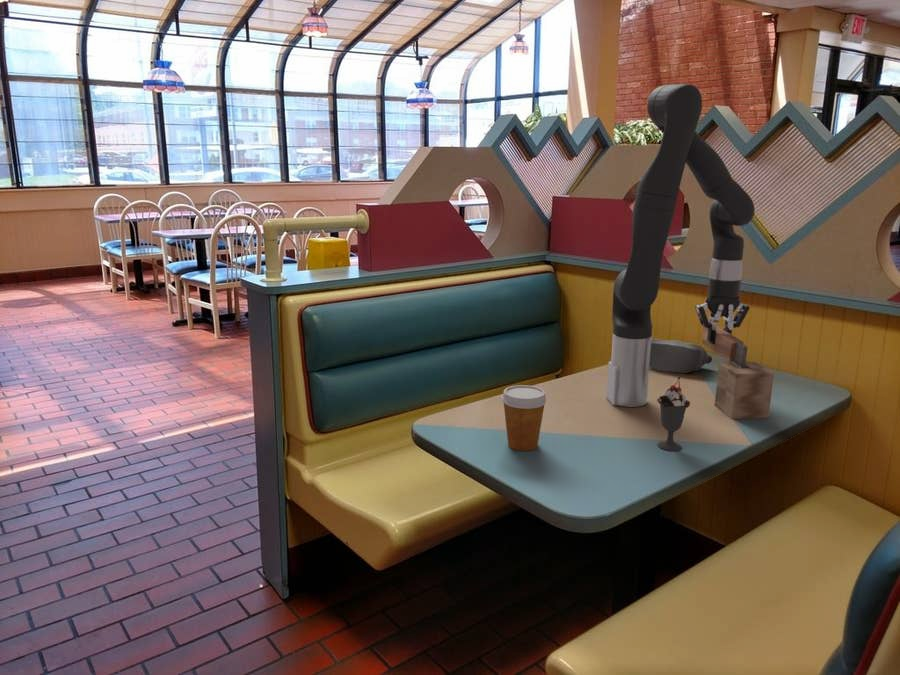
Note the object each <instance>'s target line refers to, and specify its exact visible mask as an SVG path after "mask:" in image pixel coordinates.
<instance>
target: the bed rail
mask: <svg viewBox="0 0 900 675" xmlns="http://www.w3.org/2000/svg"><path fill="white" fill-rule="evenodd" d="M715 330H716V337H715V344H711V343H709V341H708V340H707V335H708V328H706V327H704V326H703V331H702V340H701V343H702V344H703V345H704V346H705V347H707V348H708V349H709V350H711V351H713V352H714V353H715V354H717V355H719V356H720V357H722V358H723V359H724V360H726V361H727V362H732V363H734V364H736V365H737V366H739V367H740V368H741V367H745V363H746V362H747V354H748V346H746V345H745V344H744V343H745V342H744V341H742V340H741V339H740V338H738V337H736V336H734V335H733V334H729V333H728V332H726V331H724V330H723V328H721V327H720V326H719V325H717V327H716V329H715Z"/></svg>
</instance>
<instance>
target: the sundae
mask: <svg viewBox="0 0 900 675" xmlns="http://www.w3.org/2000/svg"><path fill="white" fill-rule="evenodd" d="M680 379H681V377H680V376H678V377H677V381H676V383H675V384H673V385H670V387H669V388H668V389H666V390H665V391H664V393H663V395H660V396H659V398H657V400H656V401H657V402H658V404H659V405H660V406H659V407H660V408H659V410H660V421H661V426H662V427H663V428H664V430H666V431H667V438H666V440H664V441H663V440H662V441H660V442H658V443H657V447H658V448H659V447H660V449H661V448H662V449H661V450H663V449H664V450H665V451H667V450H669V451H668V452H677V450H678V451H680V450H682V445H681V444H680V443H678V442H676V441H675V440H674V433H675V432H676V431H678V430H680V429H681V427H682V425H683V422H684V418H685V413H686V409H688V408H689V407H690V406H691V402H690V401H689V400H687V399H686V397H685V394H683V393H682V388H681V386H680V382H679V380H680ZM677 384H678V386H677V387H676V385H677Z"/></svg>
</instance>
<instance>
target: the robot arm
mask: <svg viewBox="0 0 900 675" xmlns="http://www.w3.org/2000/svg"><path fill="white" fill-rule="evenodd" d="M702 97H703V96H702V93H701V91H700V90H699V88H698V87H697V86H695V85H693V84H691V83H681V84H679V83H678V84H675V83H674V84H665V85H660V86H657V87H656V88H655V89H654V90H652V91H651V94H650V95H649V97H648V99H647V103H646V109H647V113H648V116H649V119H650V120H651V121H652V123H653V124H654V126H656V127H657V129H658V130H659V131H660V132H661V133H662V138H661V142H660V146H659V148H658V151H657V153H656V155H655V156H654V157H653V159H652V162H651V163H650V164H649V166H648V167H647V169H646V170H645V172H644V174H643V175H642V176H641V178H640V180H639V183H638V185H637V189H636V193H635V199H634V205H633V209H632V210H633V211H632V218H631V219H632V220H631V221H632V223H631V237H632V238H631V250H630V256H629V258H628V264H627V267H626V269H623V270H622V271H621V272H619V274H618V275H617V276H616V278H615V280H614V284H613V291H612V292H613V293H612V294H613V295H612V315H611V316H612V317H611V318H612V342H611V343H612V346H611V359H610V361H608V365H607V377H606V378H607V380H606V381H607V382H606V395H605V396H606V399H607V400H608V401H609V402H610V404H611V405H612V406H618V407H627V408H635V407H642V406H644V405H646V404H647V400H648V390H649V389H648V388H649V387H648V386H649V377H650V376H649V374H650V366H649V364H650V351H651V338H653V337H652V334H653V324H652V317H651V306H652V305H653V304H654V302H655V301H656V300H657V297H658V294H659V288H660V287H659V285H660V278H661V269H662V261H663V256H664V251H665V248H666V244H667V241H668V237H669V234H670V231H671V227H672V222H673V218H674V214H675V212H676V208H677V202H678V197H679V192H680V188H681V182H682V179H683V176H684V171H685V167H686V165H687V167H688V168H689V169H690V172H691V173H692V175H693V177H694V178H695V179H696V181H697V183H698V185H699V187H700V188H701V190H702V192H703V193H704V194H705V196H706V197H708V198H709V199H712V200H713V201H712V203H711V205H710V207H709V208H710V209H709V222H710V223H709V224H710V229H711V233H712V238H713V249H712V256H711V257H712V258H711V262H710V268H709V273H708V276H709V277H708V288H707V298H706V300H705V302H704V303H701V304H696V305H695V306H694V307H695V311H696V314H697V317H698V320H699V322H700V324H701V326H703V328H704V327H706V328H708V335H707V340H708V341H709V343H711V344H715V337H716V330H715V329H716V327H717V326H718V323H720V322H719V321H720V320H721V317H722V318H723V323H724V324H723V325H724V328H722V329H723V330H724V331H726V332H728V333H729V334H731V335H733V333H732V332H733V330H734V329H735V328H740V327H741V325H742V323H743V321H744V320H745V318H746V316H747V314H748V312H749V311H750V308H751V307H750V306H749V305H747V304H744V303H741V301H740V295H741V285H742V277H743V256H744V247H745V246H744V245H745V240H744V238H743V237H742V236H741V235H739V234H737V233H736V232H735V230H734V229H735V228H734V226H736V227H737V226H738V227H741V226H746V225H748V224H750V222H751V221H752V220H753V219H754V217H755V211H756V210H755V205H754V202H753V201H754V200H753V199H752V198H751V196H750V195H749V193H748V192H746V190H745V189H744V188H742V186H741V185H740V184H739V183H738V182H737V181H736V180H734V179H733V177H732V175H731V174H730V171H729V170H728V168H727V166H726V165H725V164H726V163H724V161H723V159H722V158H721V156H720V155H719V154H718V153H717V152H716V150H715V149H714V148H713V147H712V146H710V144H709V143H707V142H706V140H704V139H703V138H702V137H701V136H700V134H699V133H697V131H696V129H697V127H698V123H699V120H700V117H701V114H702V109H703V108H702V107H703V98H702ZM707 309H708V310H709V316H708V317H707V313H706V312H708V311H707ZM736 311H737V312H736ZM734 312H736V313H735V315H734Z"/></svg>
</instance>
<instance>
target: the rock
mask: <svg viewBox="0 0 900 675" xmlns="http://www.w3.org/2000/svg"><path fill="white" fill-rule="evenodd" d="M712 360H713V357H712V356H711V355H710V354H707V351H706V350H705V348H703V346H701V345H699V344H695V343H691V342H684V341H681V340H676V339H675V340H663V339H661V338H660V339H659V338H654V337H652V338H651V351H650V364H649V368H652V369H654V368H655V369H654V370H656V369H659V370H658V371H661V370H664V371H663V372H675V373H683V374H689V373H691V372H697V371H698V370H700V369H701V368H702V367H703V366H704V365H707V364H711V362H712Z"/></svg>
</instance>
